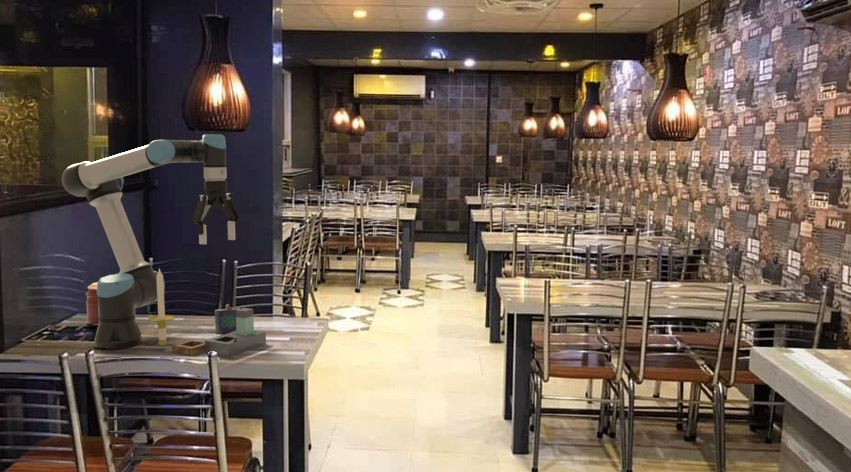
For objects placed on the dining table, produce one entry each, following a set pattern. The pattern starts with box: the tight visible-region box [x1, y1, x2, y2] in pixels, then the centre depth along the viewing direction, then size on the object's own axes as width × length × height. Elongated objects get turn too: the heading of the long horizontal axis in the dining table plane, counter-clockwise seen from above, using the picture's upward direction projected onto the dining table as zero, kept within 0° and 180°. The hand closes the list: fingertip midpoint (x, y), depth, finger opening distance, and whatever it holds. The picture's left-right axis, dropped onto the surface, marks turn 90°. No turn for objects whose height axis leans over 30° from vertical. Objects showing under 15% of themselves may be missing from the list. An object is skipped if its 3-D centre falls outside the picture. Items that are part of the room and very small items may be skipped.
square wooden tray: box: [171, 338, 205, 357], centre depth 243 cm, size 9×9×3 cm
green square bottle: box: [236, 307, 255, 336], centre depth 248 cm, size 4×4×12 cm
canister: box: [85, 276, 104, 324], centre depth 285 cm, size 13×13×18 cm
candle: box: [148, 267, 176, 346], centre depth 250 cm, size 10×10×27 cm
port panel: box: [203, 329, 267, 358], centre depth 245 cm, size 10×18×5 cm, turn 151°
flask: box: [214, 303, 241, 336], centre depth 268 cm, size 9×3×11 cm, turn 105°
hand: (217, 242), depth 254 cm, fingers open, 13 cm apart
